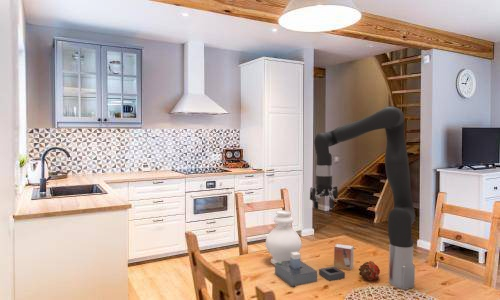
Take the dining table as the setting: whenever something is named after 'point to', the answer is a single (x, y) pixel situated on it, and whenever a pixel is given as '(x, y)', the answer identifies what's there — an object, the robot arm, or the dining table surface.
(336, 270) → the holster
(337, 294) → the dining table surface
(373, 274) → the dragon fruit
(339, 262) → the small box
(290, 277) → the port
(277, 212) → the decorative vase
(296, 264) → the plug
